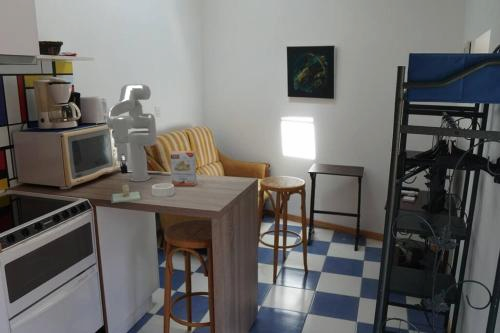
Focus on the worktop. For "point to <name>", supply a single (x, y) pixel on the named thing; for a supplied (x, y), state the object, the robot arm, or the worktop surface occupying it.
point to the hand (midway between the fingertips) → (124, 171)
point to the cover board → (122, 199)
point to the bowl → (163, 190)
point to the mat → (125, 201)
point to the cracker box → (183, 168)
